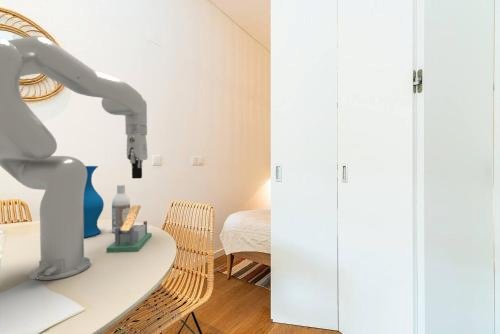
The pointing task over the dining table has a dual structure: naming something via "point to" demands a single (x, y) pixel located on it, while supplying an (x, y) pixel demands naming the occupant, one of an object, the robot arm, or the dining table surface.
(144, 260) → the dining table surface
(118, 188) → the bath foam
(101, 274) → the dining table surface
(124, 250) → the grey and green block
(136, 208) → the tan wooden bar
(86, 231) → the vase
